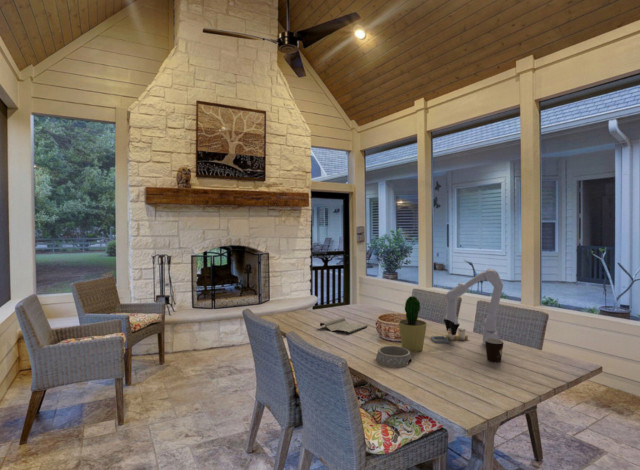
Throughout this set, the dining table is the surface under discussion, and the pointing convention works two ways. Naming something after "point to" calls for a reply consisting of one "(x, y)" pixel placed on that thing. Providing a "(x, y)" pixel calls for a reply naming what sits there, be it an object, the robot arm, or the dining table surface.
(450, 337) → the cylinder
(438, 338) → the tray
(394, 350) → the dog bowl
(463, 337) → the cylinder
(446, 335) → the fuse holder
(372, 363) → the dining table surface
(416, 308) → the potted cactus
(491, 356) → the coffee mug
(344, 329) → the mat
